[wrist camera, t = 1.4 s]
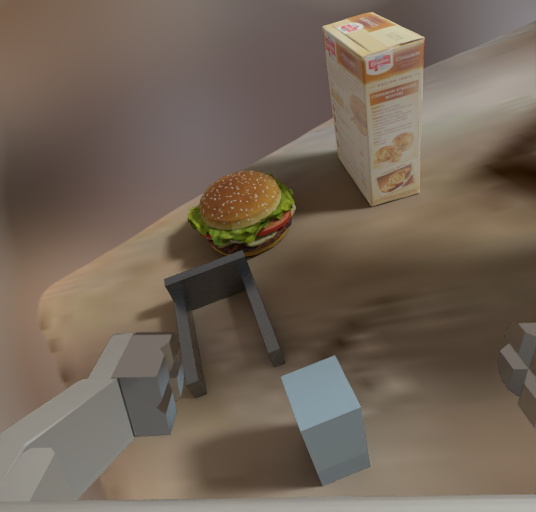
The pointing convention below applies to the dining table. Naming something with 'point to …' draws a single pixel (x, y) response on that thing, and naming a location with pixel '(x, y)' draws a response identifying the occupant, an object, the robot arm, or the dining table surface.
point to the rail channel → (208, 291)
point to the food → (244, 213)
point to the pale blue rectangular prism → (328, 419)
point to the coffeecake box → (377, 103)
